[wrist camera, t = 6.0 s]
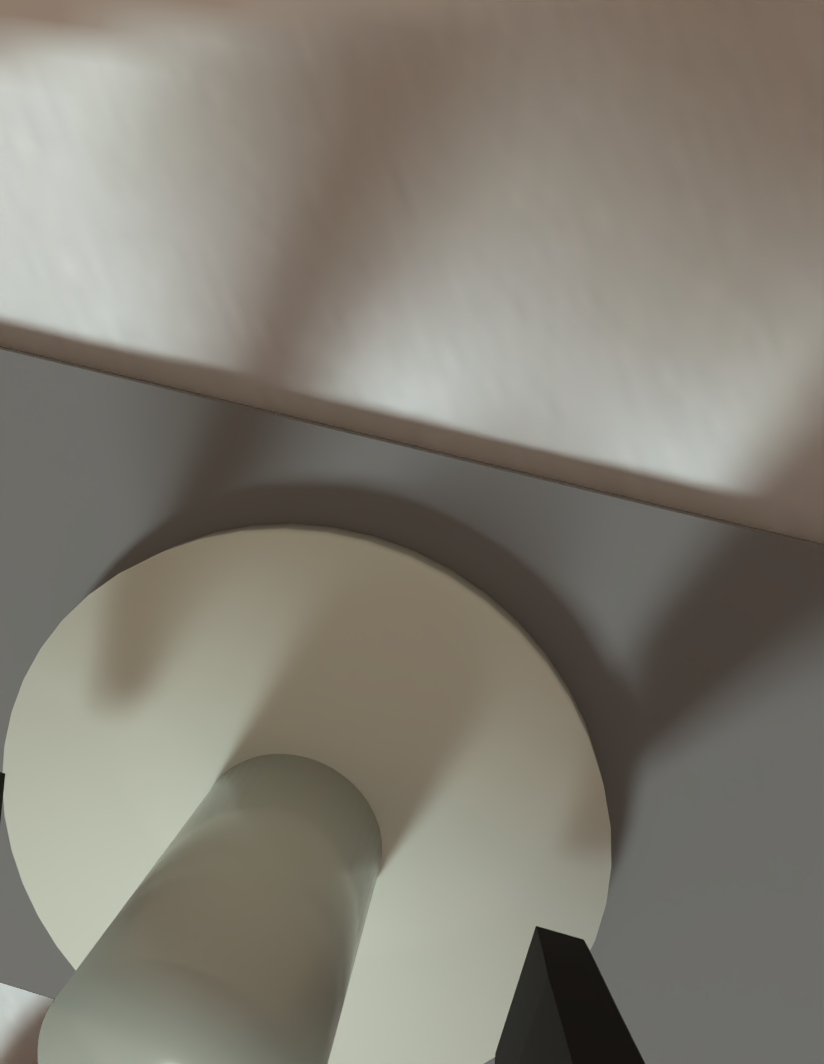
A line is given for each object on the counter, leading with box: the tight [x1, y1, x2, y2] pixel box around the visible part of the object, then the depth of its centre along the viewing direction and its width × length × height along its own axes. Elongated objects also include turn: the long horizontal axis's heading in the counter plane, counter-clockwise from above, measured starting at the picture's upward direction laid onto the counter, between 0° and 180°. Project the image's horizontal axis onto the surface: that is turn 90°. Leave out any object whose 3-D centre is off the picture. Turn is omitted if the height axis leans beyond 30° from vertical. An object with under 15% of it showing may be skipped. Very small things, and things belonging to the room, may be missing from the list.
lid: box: [3, 523, 611, 1064], centre depth 9 cm, size 10×10×5 cm
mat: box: [0, 346, 824, 1064], centre depth 12 cm, size 18×12×1 cm, turn 77°
